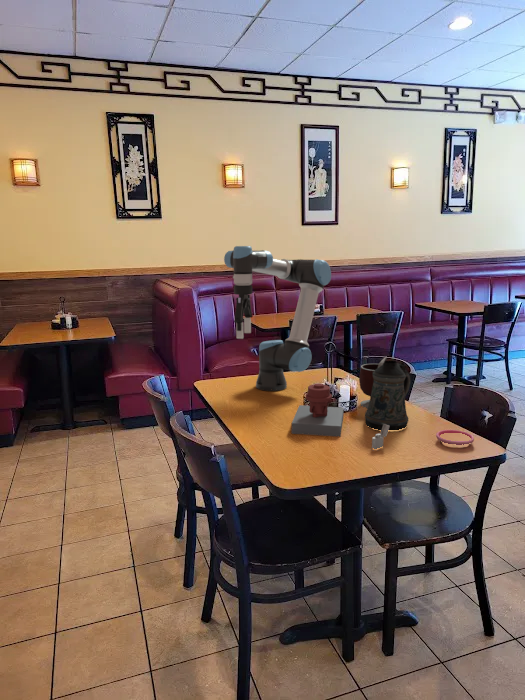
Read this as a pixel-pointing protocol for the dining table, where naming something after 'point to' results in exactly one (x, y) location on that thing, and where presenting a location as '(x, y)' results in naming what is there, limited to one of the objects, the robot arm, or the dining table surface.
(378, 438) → the lighter
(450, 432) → the pink torus ring
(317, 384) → the mechanical component
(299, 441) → the dining table surface
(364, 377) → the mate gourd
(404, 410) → the beer stein
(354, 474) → the dining table surface
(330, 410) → the plate
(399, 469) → the dining table surface
